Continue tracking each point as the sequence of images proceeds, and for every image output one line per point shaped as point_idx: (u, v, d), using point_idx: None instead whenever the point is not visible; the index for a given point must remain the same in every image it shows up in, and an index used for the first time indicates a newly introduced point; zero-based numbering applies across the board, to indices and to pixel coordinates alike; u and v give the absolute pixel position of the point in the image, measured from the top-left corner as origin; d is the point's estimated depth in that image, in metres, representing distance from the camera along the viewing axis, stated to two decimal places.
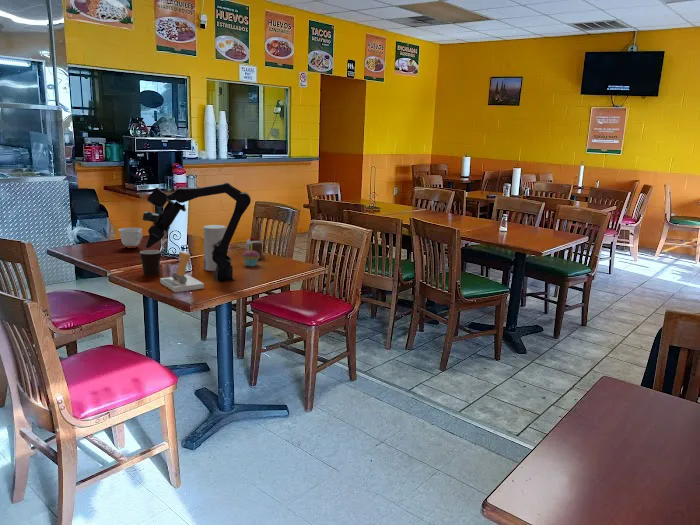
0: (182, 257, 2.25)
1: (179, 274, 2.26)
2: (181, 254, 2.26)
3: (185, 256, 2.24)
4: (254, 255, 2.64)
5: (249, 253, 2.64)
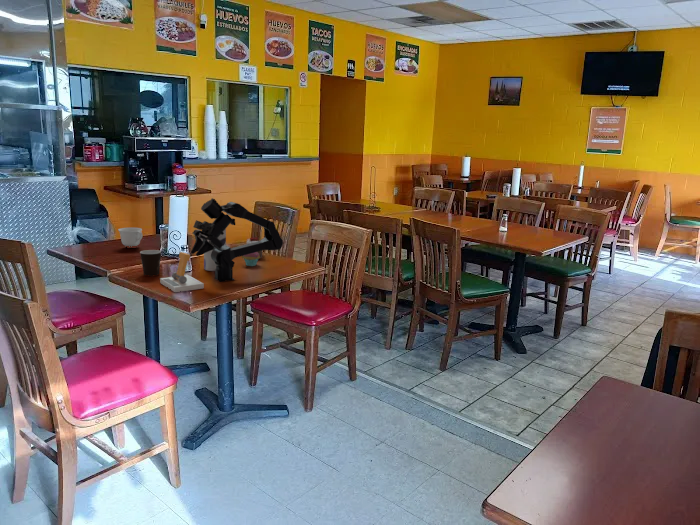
0: (182, 257, 2.25)
1: (179, 274, 2.26)
2: (181, 254, 2.26)
3: (185, 256, 2.24)
4: (254, 255, 2.64)
5: None
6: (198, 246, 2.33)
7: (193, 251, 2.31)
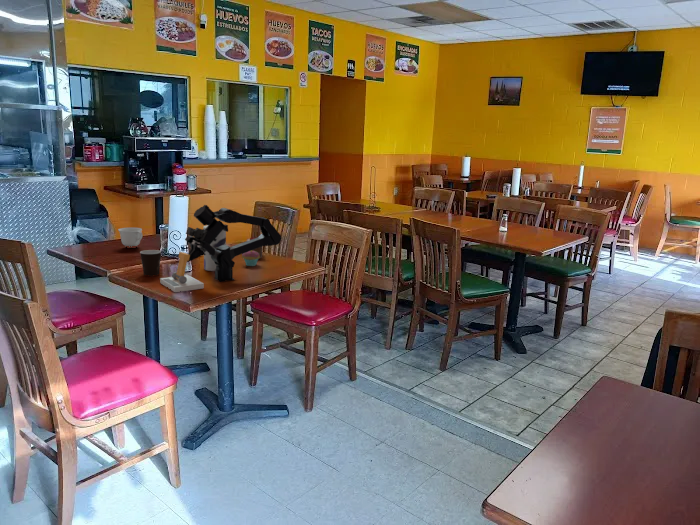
0: (182, 257, 2.25)
1: (179, 274, 2.26)
2: (181, 254, 2.26)
3: (185, 256, 2.24)
4: (254, 255, 2.64)
5: (249, 253, 2.64)
6: None
7: None
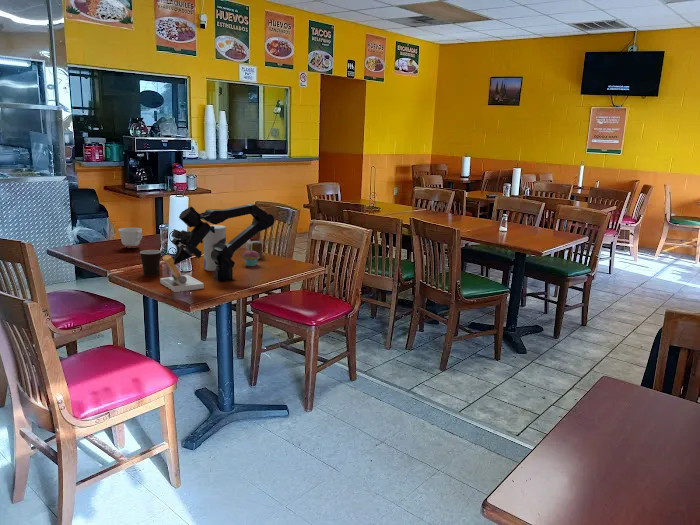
0: (167, 262, 2.22)
1: (176, 276, 2.25)
2: (164, 260, 2.22)
3: (168, 261, 2.20)
4: (254, 255, 2.64)
5: (249, 253, 2.64)
6: None
7: None
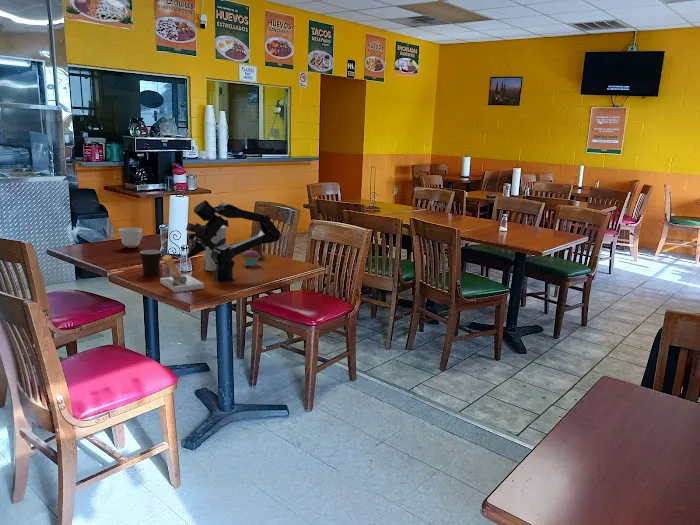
0: (167, 262, 2.22)
1: (176, 276, 2.25)
2: (164, 260, 2.22)
3: (168, 261, 2.20)
4: (254, 255, 2.64)
5: (249, 253, 2.64)
6: None
7: None
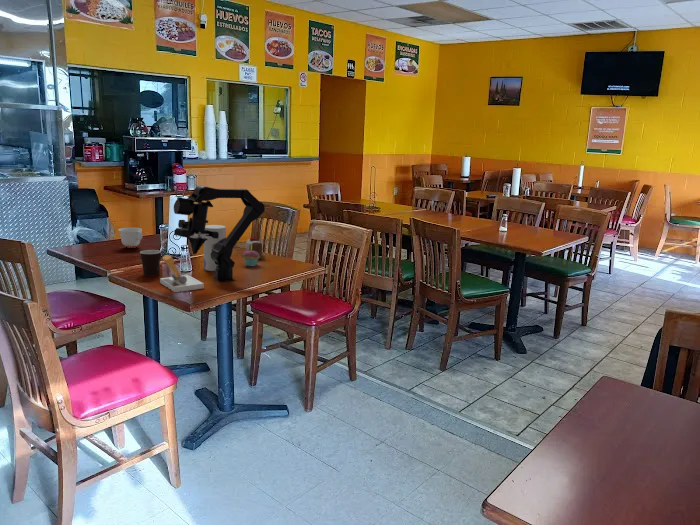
0: (167, 262, 2.22)
1: (176, 276, 2.25)
2: (164, 260, 2.22)
3: (168, 261, 2.20)
4: (254, 255, 2.64)
5: (249, 253, 2.64)
6: None
7: None
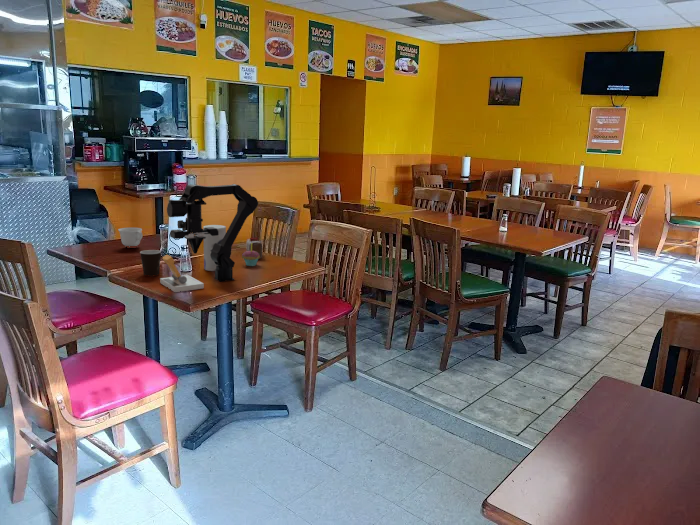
0: (167, 262, 2.22)
1: (176, 276, 2.25)
2: (164, 260, 2.22)
3: (168, 261, 2.20)
4: (254, 255, 2.64)
5: (249, 253, 2.64)
6: None
7: None
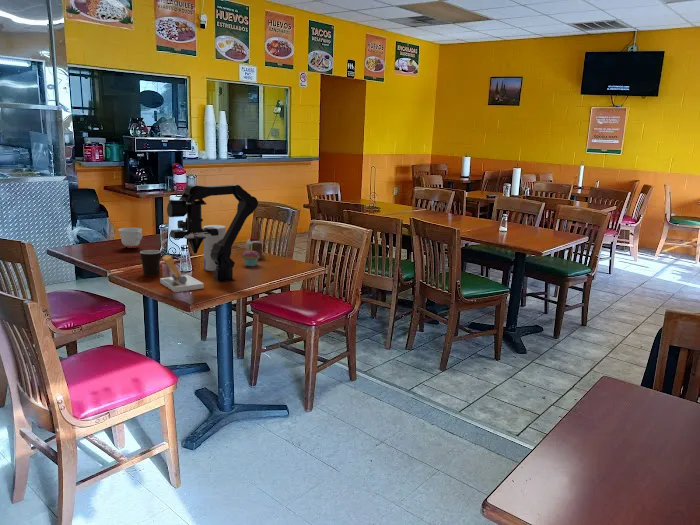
0: (167, 262, 2.22)
1: (176, 276, 2.25)
2: (164, 260, 2.22)
3: (168, 261, 2.20)
4: (254, 255, 2.64)
5: (249, 253, 2.64)
6: None
7: None
